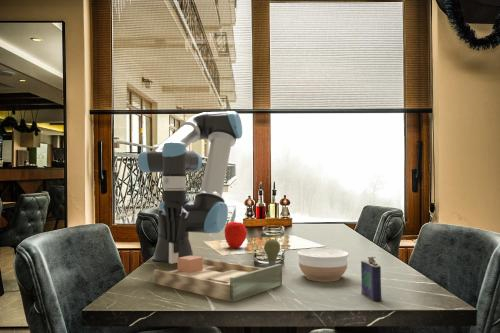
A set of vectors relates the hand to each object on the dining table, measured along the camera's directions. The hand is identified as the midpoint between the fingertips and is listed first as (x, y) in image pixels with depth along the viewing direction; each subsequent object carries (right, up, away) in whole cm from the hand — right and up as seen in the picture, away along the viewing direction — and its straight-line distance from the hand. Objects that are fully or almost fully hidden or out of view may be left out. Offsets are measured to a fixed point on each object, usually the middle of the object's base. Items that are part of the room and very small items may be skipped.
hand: (173, 262), depth 139 cm
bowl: (+48, -4, -3) cm, 48 cm away
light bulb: (+33, -5, +12) cm, 35 cm away
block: (+6, -1, -4) cm, 7 cm away
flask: (+57, -4, -25) cm, 62 cm away
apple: (+18, -6, +54) cm, 58 cm away
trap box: (+15, -4, -11) cm, 19 cm away
